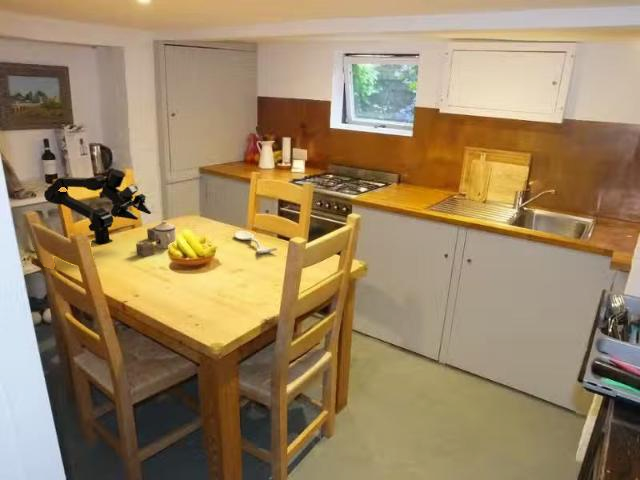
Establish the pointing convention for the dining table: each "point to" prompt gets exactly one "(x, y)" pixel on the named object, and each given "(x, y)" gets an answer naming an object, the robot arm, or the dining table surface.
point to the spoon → (249, 236)
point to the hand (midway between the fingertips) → (144, 216)
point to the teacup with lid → (164, 234)
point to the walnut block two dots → (145, 249)
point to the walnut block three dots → (151, 234)
